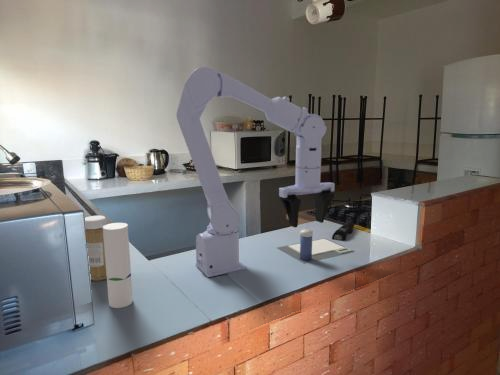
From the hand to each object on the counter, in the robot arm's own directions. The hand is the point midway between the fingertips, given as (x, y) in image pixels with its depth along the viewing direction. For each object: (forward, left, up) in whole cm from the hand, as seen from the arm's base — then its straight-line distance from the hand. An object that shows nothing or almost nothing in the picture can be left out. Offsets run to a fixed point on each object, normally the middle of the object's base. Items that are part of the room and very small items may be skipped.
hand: (306, 223), depth 91 cm
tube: (-43, 0, -9) cm, 44 cm away
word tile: (+11, 0, -9) cm, 15 cm away
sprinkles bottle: (-45, +14, -9) cm, 48 cm away
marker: (0, 0, -9) cm, 9 cm away
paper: (+7, +5, -9) cm, 13 cm away
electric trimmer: (+22, +11, -10) cm, 26 cm away
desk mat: (+6, +4, -9) cm, 12 cm away
